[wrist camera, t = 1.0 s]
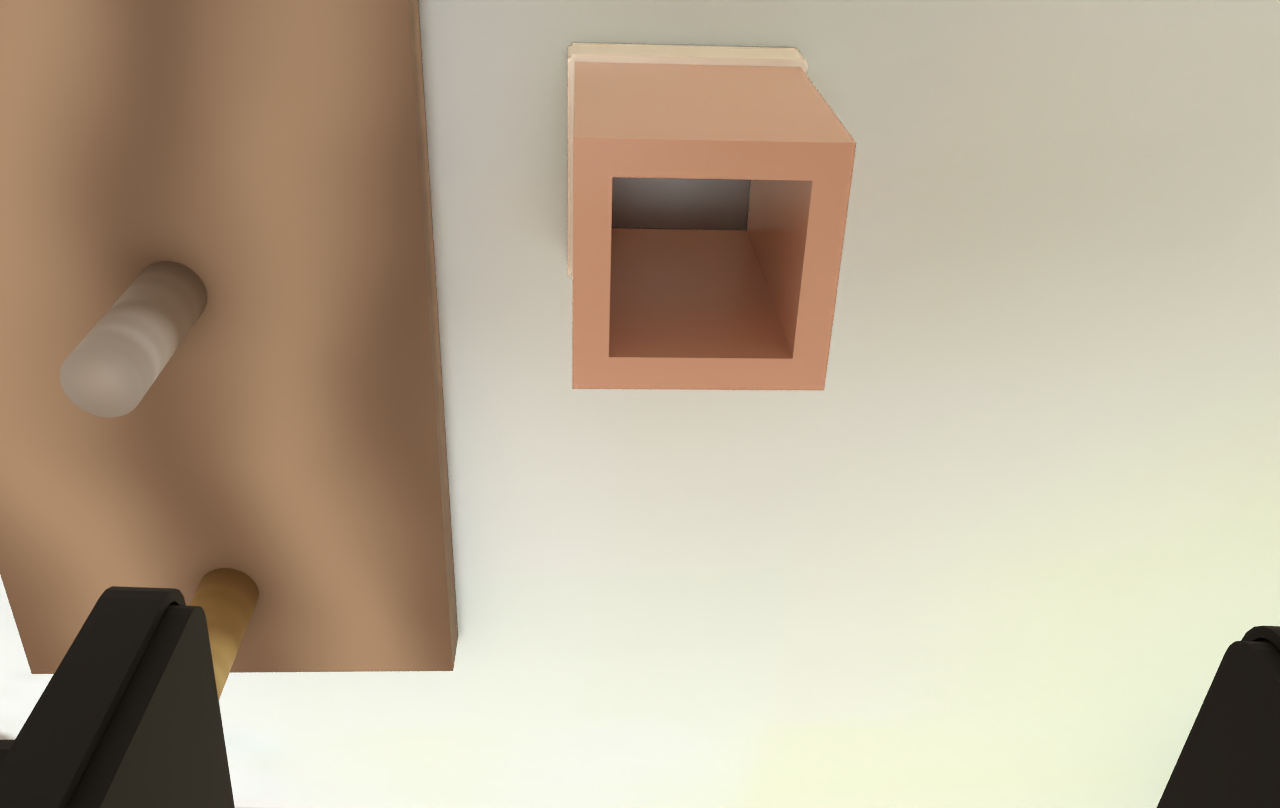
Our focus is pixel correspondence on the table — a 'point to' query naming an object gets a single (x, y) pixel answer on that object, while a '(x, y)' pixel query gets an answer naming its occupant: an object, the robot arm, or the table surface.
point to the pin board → (223, 329)
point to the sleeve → (704, 259)
